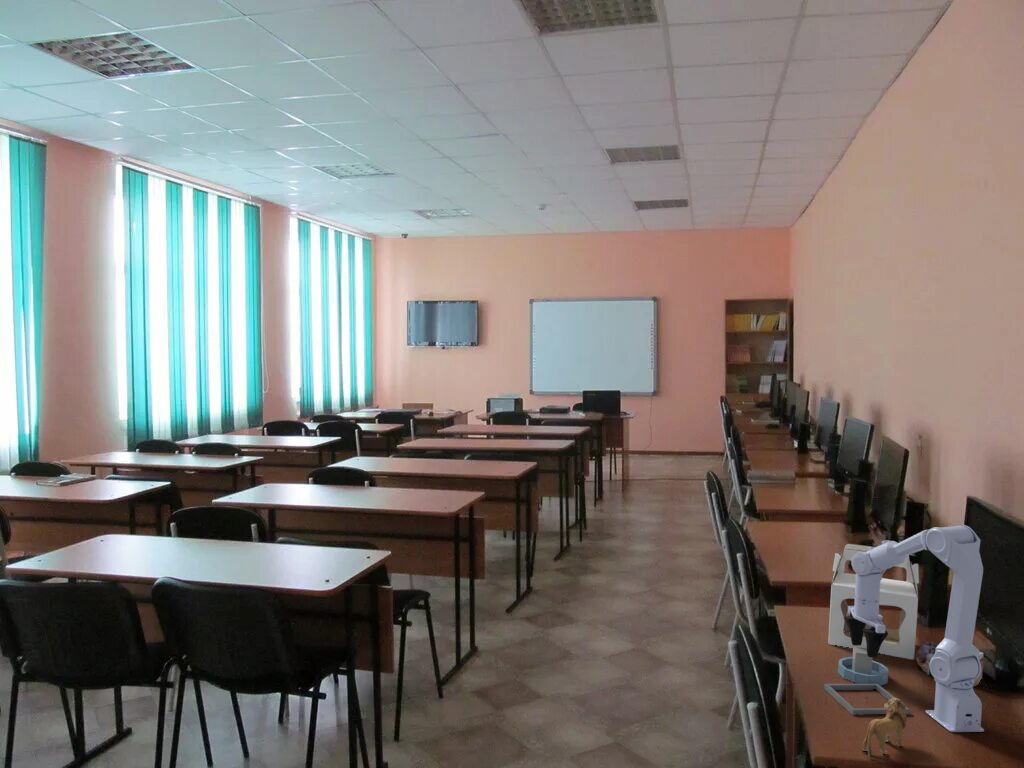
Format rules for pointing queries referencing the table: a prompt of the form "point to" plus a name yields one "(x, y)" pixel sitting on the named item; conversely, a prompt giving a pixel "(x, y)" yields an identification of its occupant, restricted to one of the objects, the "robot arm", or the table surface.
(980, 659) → the small box
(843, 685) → the tray
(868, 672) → the stone block
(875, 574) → the robot arm
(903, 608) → the gable box
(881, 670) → the bowl
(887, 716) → the lion figurine
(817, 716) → the table surface
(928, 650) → the skull
